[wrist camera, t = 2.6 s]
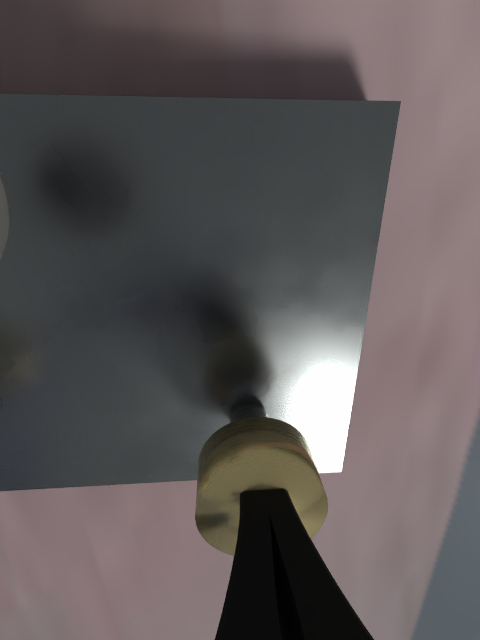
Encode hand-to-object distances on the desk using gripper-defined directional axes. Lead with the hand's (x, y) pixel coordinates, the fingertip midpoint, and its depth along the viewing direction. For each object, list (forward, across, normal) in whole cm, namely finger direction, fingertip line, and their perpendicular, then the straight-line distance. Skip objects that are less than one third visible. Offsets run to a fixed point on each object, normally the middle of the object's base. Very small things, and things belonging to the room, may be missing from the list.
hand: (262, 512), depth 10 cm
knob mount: (+6, +7, -4) cm, 10 cm away
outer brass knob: (+4, 0, 0) cm, 4 cm away
